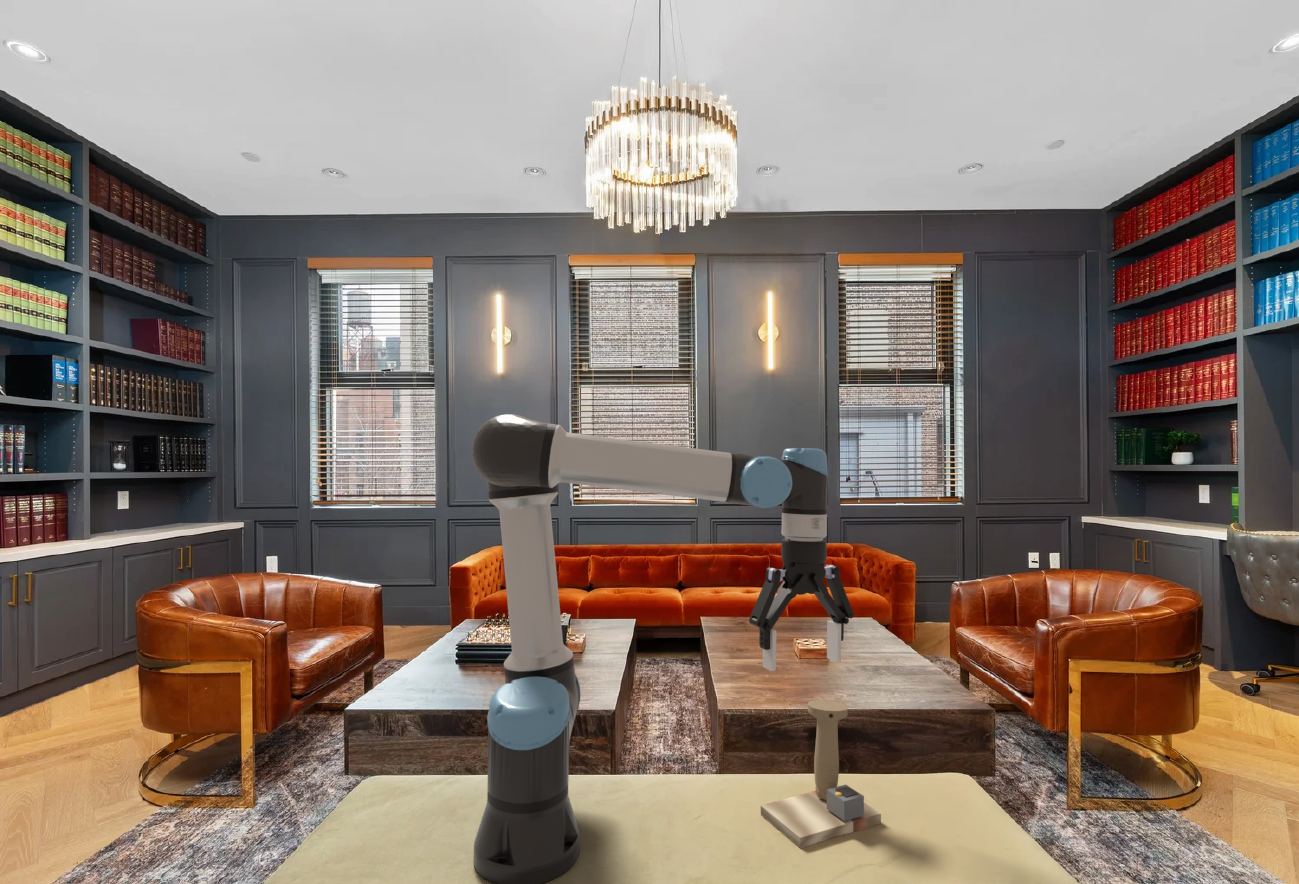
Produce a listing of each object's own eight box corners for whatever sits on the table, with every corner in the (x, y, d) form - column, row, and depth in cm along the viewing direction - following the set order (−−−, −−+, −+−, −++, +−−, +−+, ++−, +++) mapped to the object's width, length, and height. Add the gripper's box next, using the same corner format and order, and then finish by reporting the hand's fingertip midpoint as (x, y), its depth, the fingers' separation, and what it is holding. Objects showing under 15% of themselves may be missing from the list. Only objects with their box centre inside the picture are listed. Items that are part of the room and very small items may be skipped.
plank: (800, 848, 94) (800, 837, 94) (760, 814, 103) (760, 805, 103) (881, 823, 100) (880, 813, 100) (837, 793, 109) (837, 784, 109)
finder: (844, 821, 98) (844, 800, 98) (826, 808, 101) (826, 788, 101) (863, 815, 99) (863, 794, 99) (845, 803, 103) (845, 783, 103)
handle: (849, 805, 103) (850, 711, 103) (809, 803, 103) (811, 709, 104) (841, 790, 108) (843, 701, 108) (803, 788, 108) (805, 699, 108)
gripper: (755, 542, 99) (753, 679, 99) (875, 539, 110) (874, 662, 109) (730, 537, 106) (727, 665, 105) (845, 534, 117) (844, 651, 116)
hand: (802, 664), depth 107 cm, fingers open, 13 cm apart
